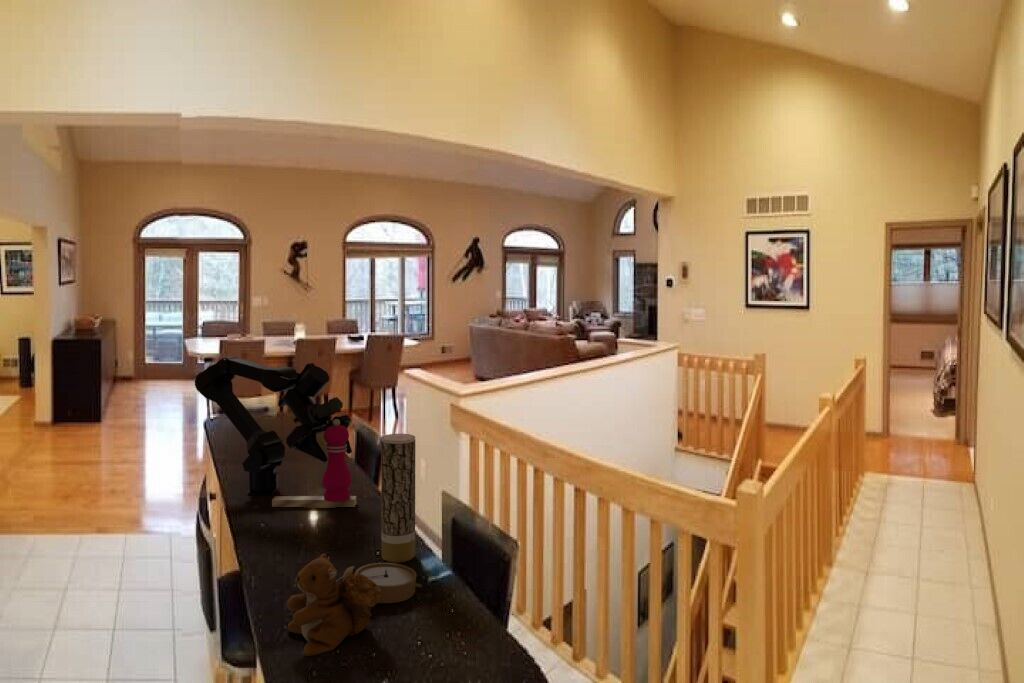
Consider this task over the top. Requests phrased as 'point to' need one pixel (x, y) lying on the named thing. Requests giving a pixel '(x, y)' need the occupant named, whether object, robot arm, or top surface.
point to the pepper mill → (336, 464)
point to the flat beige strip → (310, 502)
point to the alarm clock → (388, 580)
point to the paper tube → (398, 497)
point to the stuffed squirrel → (330, 605)
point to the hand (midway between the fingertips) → (338, 456)
